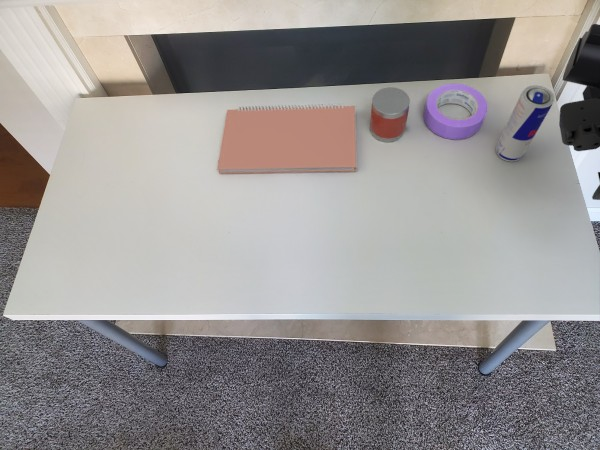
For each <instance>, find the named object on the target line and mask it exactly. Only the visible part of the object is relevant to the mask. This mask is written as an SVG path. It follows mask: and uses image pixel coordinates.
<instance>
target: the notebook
mask: <svg viewBox="0 0 600 450" xmlns="http://www.w3.org/2000/svg"><path fill="white" fill-rule="evenodd" d="M337 104H338V105H337ZM310 105H311V106H310ZM356 123H357V121H356V106H355V105H344V103H341V104H340V103H331V106H330V103H328V104H326V103H325V104H323V103H322V104H321V105H320V104H319V103H318V104H304V105H303V104H298V105H296V104H294V105H293V104H291V105H289V104H288V105H287V104H285V105H282V104H281V105H268V106H266V105H264V106H263V105H262V106H260V105H258V106H253V105H252V106H238V108H237V109H227V110H226V114H225V122H224V127H223V134H222V139H221V145H220V151H219V157H218V163H217V169H216V170H217V171H218V174H220V175H223V174H225V175H226V174H227V175H229V174H231V175H233V174H283V173H285V174H287V173H288V174H289V173H290V174H291V173H295V174H296V173H346V172H347V173H348V172H349V173H350V172H351V173H352V172H355V173H356V172H357V167H358V165H357V163H358V162H357V161H358V160H357V128H356V127H357V124H356Z"/></svg>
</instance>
